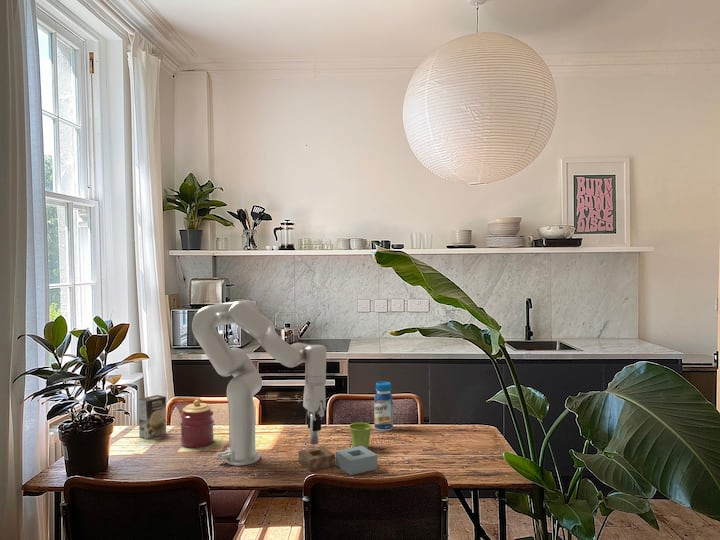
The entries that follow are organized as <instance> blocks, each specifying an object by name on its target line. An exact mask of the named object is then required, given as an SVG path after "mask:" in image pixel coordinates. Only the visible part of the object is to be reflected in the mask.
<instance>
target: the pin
mask: <svg viewBox="0 0 720 540" xmlns="http://www.w3.org/2000/svg"><path fill="white" fill-rule="evenodd" d="M317 411H319V410H317ZM317 414H319V413H317ZM317 414H316V416H317ZM313 420H314V413H312V412H310V428H309V444H310V445H313V446H315V445H318V444H319V441H320V440H319V439H320V438H319V437H320V434H319V433H320V431H312V427H313Z"/></svg>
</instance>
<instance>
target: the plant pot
mask: <svg viewBox="0 0 720 540" xmlns="http://www.w3.org/2000/svg"><path fill="white" fill-rule="evenodd" d="M348 429H349V432H350V435H351V443H352V444H351V445H352V448H353V447H358V446H363V447H365V448H367V449H368V450H369V444H370V438H371V432H372V429H373V425H372V424H370V423H367V422H353V423H350V424H349V425H348Z"/></svg>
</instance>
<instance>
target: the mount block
mask: <svg viewBox="0 0 720 540" xmlns="http://www.w3.org/2000/svg"><path fill="white" fill-rule="evenodd" d="M298 464H300V465H301V466H302V467H304V468H305V467H306V468H305V469H307V470H308V471H309V472H313V471H317V470H321V469H326V468H330V467H335V466H336V453H334V452H332V451H330V450H329V449H328V448H326V447H325V446H319V447H318V446H317V447H312V448H308V449H302V450H298Z"/></svg>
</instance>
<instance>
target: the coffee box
mask: <svg viewBox="0 0 720 540" xmlns="http://www.w3.org/2000/svg"><path fill="white" fill-rule="evenodd" d="M138 401H139V402H138V403H139V404H138V405H139V406H138V407H139V409H138V414H139V416H138V419H139V421H138V423H139V425H138V427H139V428H138V430H139V431H138V433H139V435H138V436H139V437H141V438H143V437H144V439H146V438H147V440H148V438H149V439H151V438H155V436H156V437H159V436H163V435H166V434H167V397H166V396H165V395H164V396H163V395H161V394H160V395H159V394H156V395H152V396H146V397H142V398H139V399H138ZM165 433H166V434H165ZM158 435H159V436H158Z"/></svg>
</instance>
